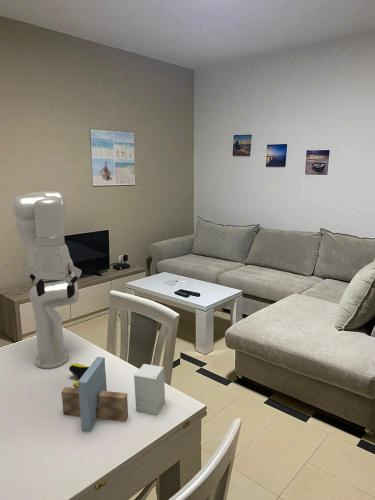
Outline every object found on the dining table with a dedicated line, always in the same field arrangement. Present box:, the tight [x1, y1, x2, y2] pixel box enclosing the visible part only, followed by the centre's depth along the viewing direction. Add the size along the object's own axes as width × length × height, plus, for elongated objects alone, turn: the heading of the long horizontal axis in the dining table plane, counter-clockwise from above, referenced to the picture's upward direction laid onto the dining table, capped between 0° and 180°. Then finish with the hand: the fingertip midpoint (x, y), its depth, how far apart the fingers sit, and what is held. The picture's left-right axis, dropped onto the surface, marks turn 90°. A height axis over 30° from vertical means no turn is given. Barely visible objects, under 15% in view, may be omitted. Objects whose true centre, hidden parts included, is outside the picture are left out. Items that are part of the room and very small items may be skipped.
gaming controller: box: [68, 362, 90, 388], centre depth 133 cm, size 15×6×10 cm
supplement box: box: [133, 363, 166, 416], centre depth 120 cm, size 7×7×13 cm
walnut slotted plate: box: [61, 386, 129, 422], centre depth 116 cm, size 20×2×8 cm, turn 81°
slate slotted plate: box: [77, 356, 107, 433], centre depth 115 cm, size 14×2×16 cm, turn 171°
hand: (56, 295), depth 116 cm, fingers open, 9 cm apart
